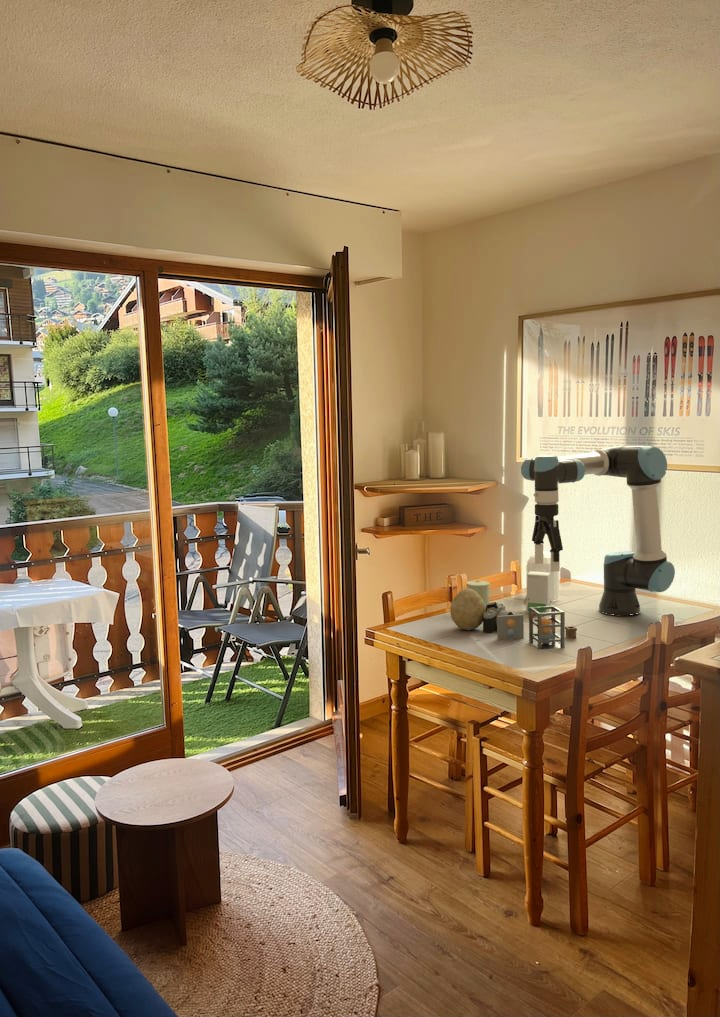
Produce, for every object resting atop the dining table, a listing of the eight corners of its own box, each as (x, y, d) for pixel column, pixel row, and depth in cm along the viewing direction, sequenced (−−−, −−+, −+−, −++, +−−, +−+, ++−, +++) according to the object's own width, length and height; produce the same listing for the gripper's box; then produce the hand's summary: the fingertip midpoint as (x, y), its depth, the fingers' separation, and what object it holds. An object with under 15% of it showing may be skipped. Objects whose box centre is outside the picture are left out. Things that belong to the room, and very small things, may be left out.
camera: (501, 637, 271) (501, 609, 270) (477, 634, 276) (477, 606, 275) (518, 627, 284) (518, 600, 283) (495, 623, 289) (495, 597, 287)
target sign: (521, 638, 269) (521, 613, 268) (524, 640, 266) (524, 615, 265) (496, 640, 268) (496, 615, 267) (499, 642, 265) (499, 617, 264)
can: (489, 608, 312) (489, 579, 310) (491, 614, 303) (490, 584, 301) (466, 608, 313) (465, 579, 311) (467, 614, 304) (466, 584, 302)
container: (522, 595, 332) (522, 549, 329) (552, 594, 333) (552, 547, 331) (532, 603, 318) (532, 554, 316) (564, 601, 320) (564, 553, 318)
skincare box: (526, 613, 302) (525, 574, 300) (529, 609, 308) (528, 570, 307) (548, 615, 299) (547, 575, 297) (550, 610, 305) (550, 571, 303)
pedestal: (574, 637, 269) (574, 625, 268) (580, 641, 264) (580, 628, 263) (560, 638, 268) (560, 626, 268) (566, 642, 263) (566, 629, 263)
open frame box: (554, 642, 264) (554, 605, 262) (564, 650, 255) (564, 611, 253) (529, 644, 262) (529, 607, 261) (538, 651, 254) (538, 613, 252)
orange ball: (547, 614, 259) (548, 616, 254) (554, 628, 258) (555, 630, 253) (533, 620, 260) (534, 622, 255) (540, 634, 259) (541, 636, 254)
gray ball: (551, 644, 261) (549, 629, 263) (556, 642, 256) (554, 627, 258) (536, 645, 261) (535, 630, 262) (542, 643, 256) (540, 628, 257)
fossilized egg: (449, 625, 289) (448, 585, 287) (483, 624, 289) (483, 584, 287) (452, 634, 276) (451, 593, 275) (488, 633, 276) (487, 592, 274)
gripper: (521, 499, 265) (522, 561, 268) (550, 508, 241) (550, 575, 244) (543, 498, 267) (543, 559, 269) (573, 507, 242) (573, 574, 245)
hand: (546, 567), depth 256 cm, fingers open, 13 cm apart
